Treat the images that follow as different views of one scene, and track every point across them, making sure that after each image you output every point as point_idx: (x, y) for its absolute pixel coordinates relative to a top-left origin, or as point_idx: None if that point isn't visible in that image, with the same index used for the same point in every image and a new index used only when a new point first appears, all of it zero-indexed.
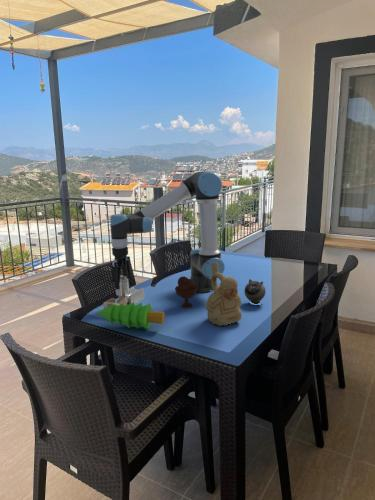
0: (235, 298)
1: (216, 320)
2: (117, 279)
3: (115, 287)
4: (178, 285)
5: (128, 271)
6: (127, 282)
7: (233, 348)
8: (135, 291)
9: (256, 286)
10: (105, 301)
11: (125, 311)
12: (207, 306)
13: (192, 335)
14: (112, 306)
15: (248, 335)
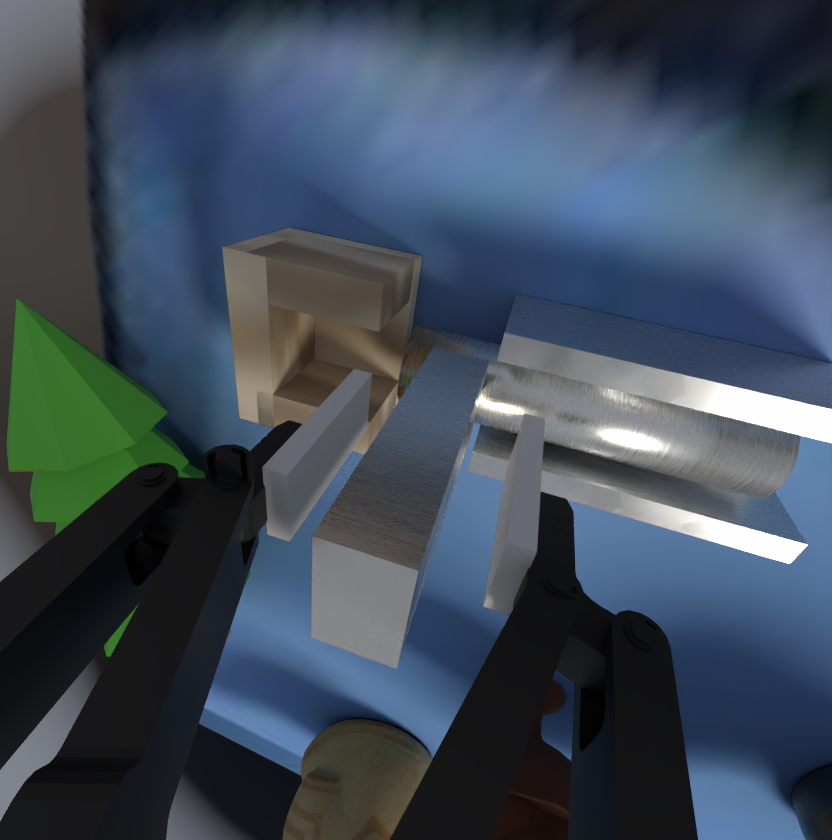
0: None
1: (309, 748)
2: (157, 567)
3: (270, 432)
4: (497, 831)
5: (579, 748)
6: (492, 552)
7: (216, 714)
8: (691, 477)
9: None
10: (264, 257)
11: (57, 532)
12: (300, 794)
13: (238, 657)
14: (12, 465)
15: (299, 756)
